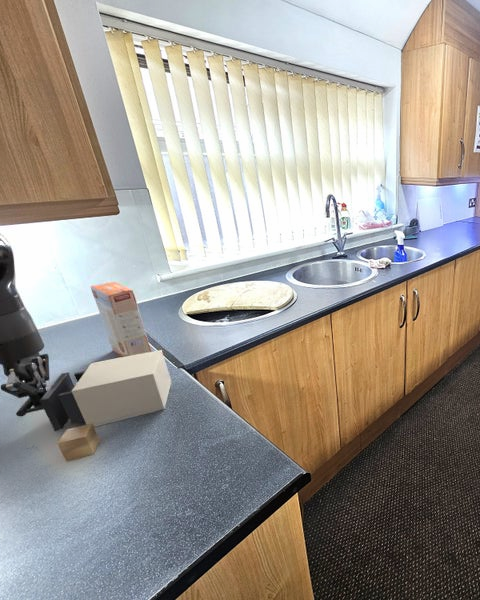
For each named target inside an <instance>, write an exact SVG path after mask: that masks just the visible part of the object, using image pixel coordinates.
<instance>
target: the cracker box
mask: <svg viewBox="0 0 480 600" xmlns="http://www.w3.org/2000/svg"><path fill="white" fill-rule="evenodd" d="M90 290H91V292H92V295H93V298H94V301H95V304H96V307H97V309H98V313H99V315H100V318H101V320H102V324H103V327H104V329H105V332H106V335H107V338H108V341H109V343H110V346H111V350H112V351H113V352H114V353H115V354H117V355H118V356H119V357H120V358H121V357H126V356H131V355H137V354H142V353H147V352H152V348H151V345H150V341H149V338H148V336H147V332H146V329H145V326H144V322H143V320H142V315H141V312H140V309H139V305H138V302H137V299H136V296H135V292H134V289H131V288H129V287H128V286H127V287H126V286H124V285H122V284H120V283H118V282H116V281H109V282H105V283H100V284H95V285H91V286H90Z"/></svg>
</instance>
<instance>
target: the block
mask: <svg viewBox="0 0 480 600" xmlns="http://www.w3.org/2000/svg"><path fill="white" fill-rule="evenodd" d="M100 441H101V440H100V437H99V435H98V432H97V430H96V428H95V427H94V426H93V423H91V424H84V425H83V424H82V425H79V426H75V427H71V428H67V429H65V430H64V432H63V434H62V435H61V437H60V439H58V441H57V443H56V444H57V446H58V448H59V451H60V452H61V454H62V457H63V458H64V460H65V462H66V463H67V462H71V461H74V460H77V459H81V458H84V457H87V456H91V455H94V454H95V451H96V450H97V447H98V445H99V443H100Z"/></svg>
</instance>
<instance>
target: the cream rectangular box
mask: <svg viewBox="0 0 480 600" xmlns="http://www.w3.org/2000/svg"><path fill="white" fill-rule="evenodd" d="M84 371H85V373H84V374H83V376H82V377H81V378H80V380H79V381H78V383H77V382H76V383H75V384H74V386H75V387H74V388H73V390H72V393H73V395H74V398H75V400H76V402H77V404H78V407H79V409H80V411H81V413H82V416H83V418H84V420H85V421H84V422H85V425H87V424H91V423H93V426H94V428H95V427H99V426H103V425H108V424H111V423H114V422H119V421H124V420H127V419H131V418H135V417H140V416H143V415H147V414H151V413H155V412H160V411H162V410H165V409H166V405H167V401H168V397H169V393H170V389H171V386H172V379H171V375H170V371H169V369H168V366H167V362H166V360H165V356H164V353H163V350H162V349H159V350H153V351H151V352H147V353H142V354H137V355H131V356H126V357H121V356H120V357H117V358H111V359H105V360H100V361H95V362H91V363H90V364H89V366H88V367H87V368H86V370H84Z"/></svg>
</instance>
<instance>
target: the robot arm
mask: <svg viewBox="0 0 480 600" xmlns="http://www.w3.org/2000/svg"><path fill="white" fill-rule="evenodd" d="M15 266H16V265H15V257H14V250H13V247H12V245H11V244H10V242H9V241H8V239H7V238H6V237H5V236H4V235H3V234H2V233H0V365H1V366H2V369H3V374H4V375H5V377H7V381H6V383H2V384H0V390H1V391H3V392H4V393H7V394H9V395H11V396H13V397H16V398H18V399H22V398H27V397H28V399H29V398H30V400H31V402H32V404H33V406H32V407H33V408H35V407H39V406H42V404H41V402H40V400H41V398H42V397H43V396H44V395H45V393H46V392H47V391H48V390H47V386H48V384H47V382H48V381H50V357H49V354H48V353H43V354H40V352H41V351H43V349H44V348H45V343H44V341H43V339H42V336H41V335H40V332H39V330H38V327H37V326H36V323H35V321H34V319H33V317H32V315H31V314H30V311H29V310H27V308H26V306H25V304H24V302H23V300H22V298H21V295H20V293H19V290H18V289H17V287H16V267H15Z"/></svg>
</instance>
